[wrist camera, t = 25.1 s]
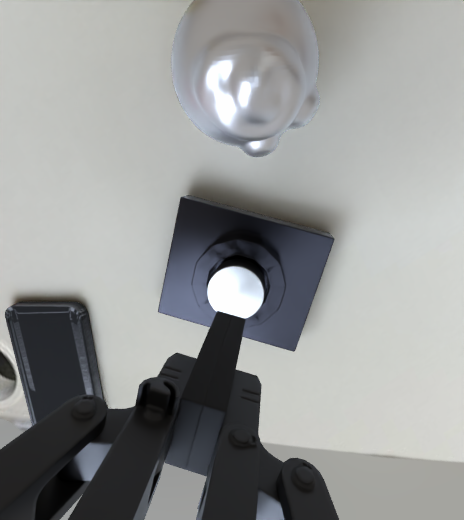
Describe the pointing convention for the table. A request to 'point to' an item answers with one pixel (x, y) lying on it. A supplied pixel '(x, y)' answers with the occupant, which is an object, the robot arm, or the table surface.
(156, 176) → the table surface
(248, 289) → the stove button
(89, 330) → the phone
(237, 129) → the ghost figurine
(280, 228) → the panel
